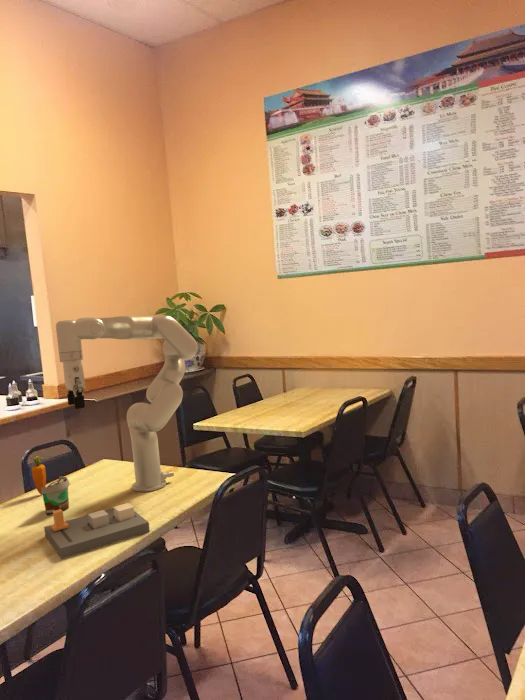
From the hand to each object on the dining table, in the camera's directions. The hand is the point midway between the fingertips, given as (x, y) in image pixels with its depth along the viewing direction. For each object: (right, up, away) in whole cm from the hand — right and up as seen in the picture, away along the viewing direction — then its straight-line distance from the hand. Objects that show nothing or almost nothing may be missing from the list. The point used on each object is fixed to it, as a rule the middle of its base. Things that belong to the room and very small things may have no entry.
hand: (76, 406), depth 201 cm
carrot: (-19, -35, +19) cm, 44 cm away
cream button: (+21, -34, -17) cm, 43 cm away
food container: (-6, -36, +2) cm, 37 cm away
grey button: (+14, -35, -21) cm, 43 cm away
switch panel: (+13, -37, -22) cm, 45 cm away
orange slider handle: (+2, -34, -23) cm, 42 cm away
